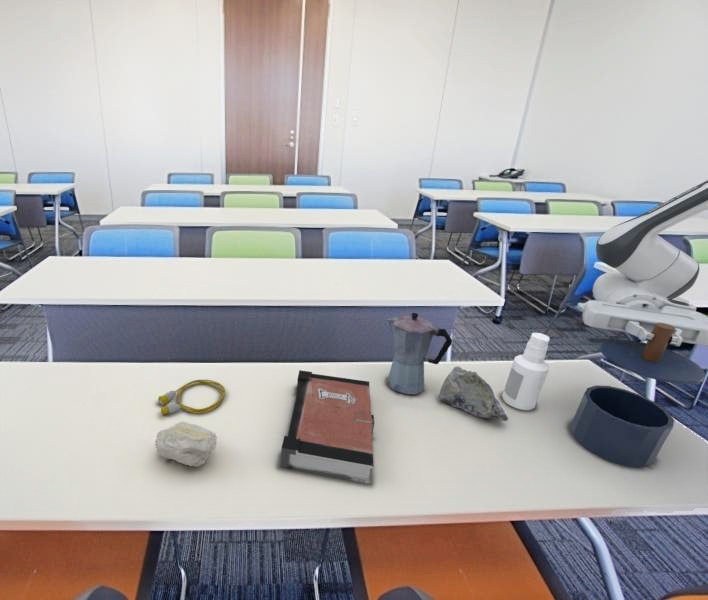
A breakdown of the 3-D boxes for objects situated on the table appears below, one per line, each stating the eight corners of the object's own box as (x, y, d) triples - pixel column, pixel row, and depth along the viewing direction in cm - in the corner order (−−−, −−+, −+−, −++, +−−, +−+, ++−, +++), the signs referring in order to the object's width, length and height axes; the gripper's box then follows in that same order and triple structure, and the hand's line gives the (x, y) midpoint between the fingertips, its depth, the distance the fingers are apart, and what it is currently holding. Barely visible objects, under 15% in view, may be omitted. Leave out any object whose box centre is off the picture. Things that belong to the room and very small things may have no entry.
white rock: (161, 439, 83) (153, 481, 74) (153, 410, 79) (144, 451, 70) (218, 433, 83) (218, 474, 75) (214, 404, 79) (213, 444, 71)
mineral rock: (508, 428, 87) (521, 391, 83) (463, 432, 86) (473, 394, 82) (472, 392, 99) (482, 357, 95) (432, 394, 98) (440, 360, 93)
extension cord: (161, 385, 100) (161, 378, 99) (224, 381, 101) (224, 375, 100) (155, 417, 89) (154, 410, 88) (226, 413, 90) (226, 406, 89)
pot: (638, 431, 87) (656, 396, 83) (665, 477, 76) (688, 438, 72) (563, 413, 92) (578, 379, 88) (578, 453, 81) (595, 416, 77)
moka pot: (383, 366, 109) (395, 300, 100) (443, 387, 100) (461, 316, 92) (370, 383, 101) (382, 313, 93) (434, 407, 93) (452, 332, 85)
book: (374, 485, 73) (378, 465, 71) (280, 467, 76) (281, 447, 74) (369, 397, 96) (372, 380, 94) (298, 386, 100) (299, 370, 98)
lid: (680, 354, 79) (698, 317, 76) (720, 396, 67) (745, 354, 64) (589, 338, 85) (603, 303, 82) (611, 374, 73) (629, 335, 69)
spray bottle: (514, 390, 100) (535, 326, 92) (541, 406, 94) (566, 340, 87) (495, 396, 97) (515, 332, 90) (522, 414, 91) (546, 346, 84)
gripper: (580, 288, 87) (598, 313, 76) (704, 305, 79) (746, 336, 68) (570, 314, 90) (587, 342, 78) (690, 333, 82) (727, 367, 70)
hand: (662, 339), depth 73 cm, fingers closed on lid, 2 cm apart
